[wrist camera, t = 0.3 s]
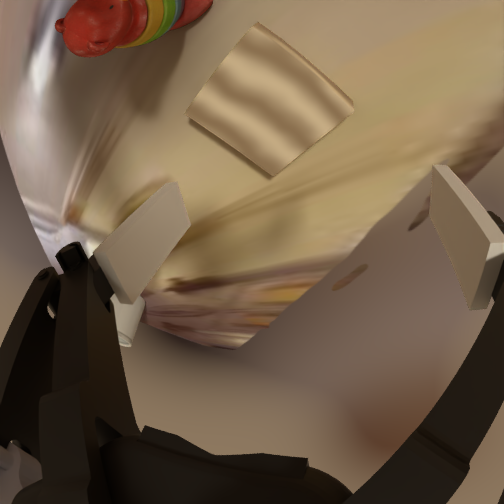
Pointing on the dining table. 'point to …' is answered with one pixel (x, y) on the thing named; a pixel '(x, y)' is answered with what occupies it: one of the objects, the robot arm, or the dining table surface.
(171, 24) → the stacking bear
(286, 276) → the dining table surface
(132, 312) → the utensil holder
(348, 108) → the maple block
